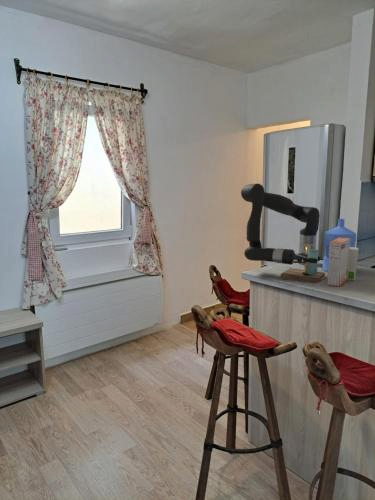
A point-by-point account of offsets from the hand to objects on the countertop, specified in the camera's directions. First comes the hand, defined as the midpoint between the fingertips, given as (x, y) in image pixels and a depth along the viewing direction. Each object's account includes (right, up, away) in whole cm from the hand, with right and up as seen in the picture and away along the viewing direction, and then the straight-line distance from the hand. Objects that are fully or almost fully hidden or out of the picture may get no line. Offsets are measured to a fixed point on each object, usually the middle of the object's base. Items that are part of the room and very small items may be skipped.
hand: (318, 259), depth 172 cm
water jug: (+19, -7, +24) cm, 31 cm away
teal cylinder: (-2, -7, +3) cm, 7 cm away
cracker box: (+9, -11, 0) cm, 14 cm away
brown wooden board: (-4, -9, +10) cm, 14 cm away
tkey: (-2, -6, +11) cm, 13 cm away
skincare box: (+17, -10, +8) cm, 21 cm away
